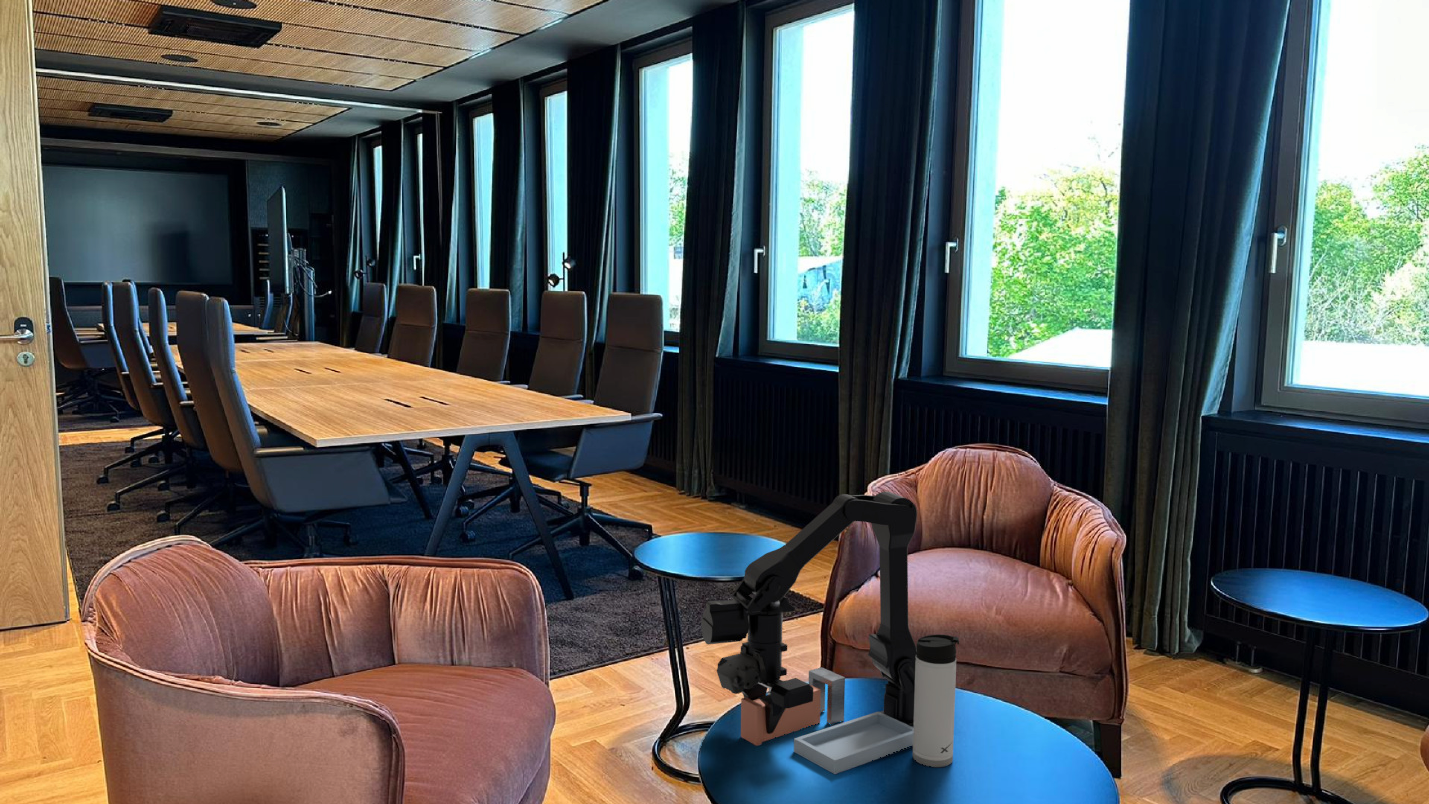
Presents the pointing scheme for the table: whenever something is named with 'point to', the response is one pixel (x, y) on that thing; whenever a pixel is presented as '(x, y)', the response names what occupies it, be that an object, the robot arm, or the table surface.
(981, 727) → the table surface
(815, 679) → the bracket
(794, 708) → the pink curved block
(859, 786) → the table surface
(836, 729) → the tray
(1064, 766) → the table surface
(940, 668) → the travel mug
